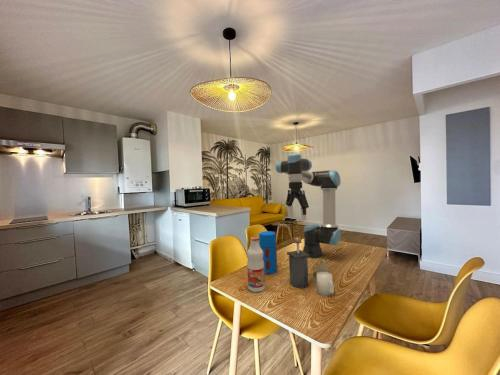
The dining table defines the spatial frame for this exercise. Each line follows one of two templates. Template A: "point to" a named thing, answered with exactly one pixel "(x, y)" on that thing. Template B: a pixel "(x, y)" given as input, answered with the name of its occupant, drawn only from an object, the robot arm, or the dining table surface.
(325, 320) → the dining table surface
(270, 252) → the thermos
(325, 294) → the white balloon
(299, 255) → the press body
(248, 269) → the fruit juice
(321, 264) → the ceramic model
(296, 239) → the plunger
